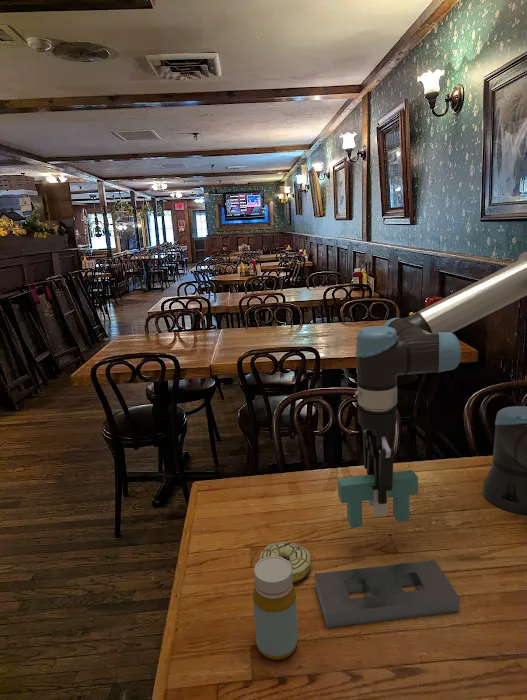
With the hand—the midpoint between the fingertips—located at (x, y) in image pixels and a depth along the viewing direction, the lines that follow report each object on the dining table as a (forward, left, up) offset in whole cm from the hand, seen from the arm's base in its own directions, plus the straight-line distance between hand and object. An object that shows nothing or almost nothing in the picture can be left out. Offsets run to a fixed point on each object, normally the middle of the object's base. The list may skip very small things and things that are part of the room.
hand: (377, 509), depth 102 cm
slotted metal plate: (+3, +14, -9) cm, 17 cm away
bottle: (+24, +21, -10) cm, 34 cm away
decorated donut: (+20, +3, -10) cm, 23 cm away
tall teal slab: (0, 0, -3) cm, 3 cm away
